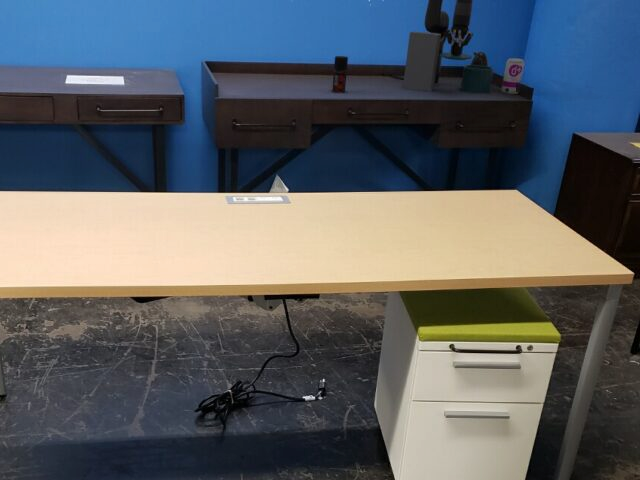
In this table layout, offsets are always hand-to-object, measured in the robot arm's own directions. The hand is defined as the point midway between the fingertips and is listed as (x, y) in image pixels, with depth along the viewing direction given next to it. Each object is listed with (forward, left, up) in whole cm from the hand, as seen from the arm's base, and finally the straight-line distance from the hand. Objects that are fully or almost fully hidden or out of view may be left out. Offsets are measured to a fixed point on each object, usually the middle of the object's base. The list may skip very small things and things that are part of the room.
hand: (455, 54), depth 357 cm
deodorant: (-35, -40, -18) cm, 56 cm away
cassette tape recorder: (-16, -3, -18) cm, 24 cm away
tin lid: (0, 0, -1) cm, 1 cm away
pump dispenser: (-8, +36, -18) cm, 41 cm away
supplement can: (+15, +29, -18) cm, 37 cm away
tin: (+3, +17, -17) cm, 25 cm away
